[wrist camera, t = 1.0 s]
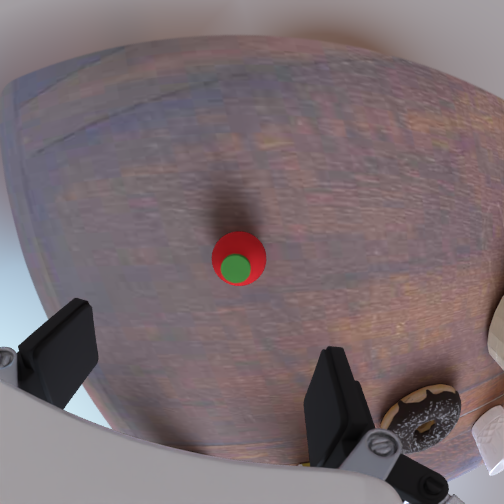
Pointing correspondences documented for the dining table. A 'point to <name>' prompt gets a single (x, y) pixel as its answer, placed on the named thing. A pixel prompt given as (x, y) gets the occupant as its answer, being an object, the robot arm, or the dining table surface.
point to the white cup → (491, 438)
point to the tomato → (239, 258)
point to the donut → (424, 417)
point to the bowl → (497, 335)
